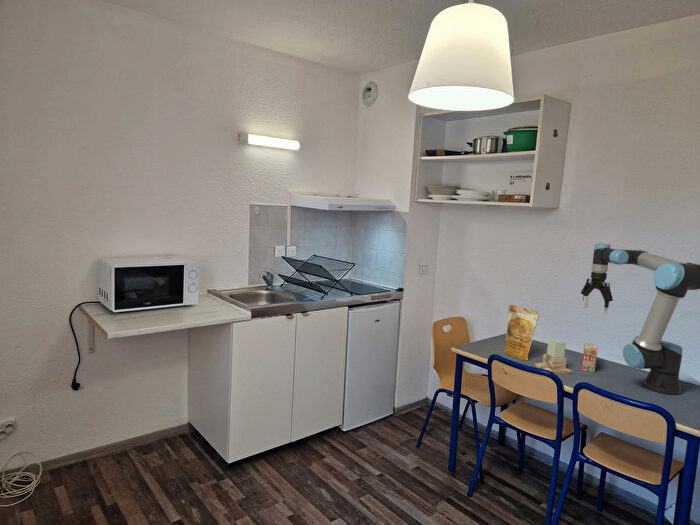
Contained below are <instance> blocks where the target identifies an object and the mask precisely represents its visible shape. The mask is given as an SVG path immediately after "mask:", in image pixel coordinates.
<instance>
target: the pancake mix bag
mask: <svg viewBox="0 0 700 525" xmlns="http://www.w3.org/2000/svg"><path fill="white" fill-rule="evenodd" d="M507 309H508V310H507V322H506V337H505V338H506V340H505V341H506V342H505V345H504V346H505V347H504V353H505V354H506V355H507V356H511V357H513V358H515V359H519V360H521V361H528V360H529V352H530V348H531V347H532V346H531V345H532V342H533V338H534V336H535V333H536V332H535V331H536V328H537V325H538V322H539V318H540V313H538V311H537V310H533V309H530V308H526V307H522V306H517V305H513V304H510V305H508V308H507Z"/></svg>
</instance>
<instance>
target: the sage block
mask: <svg viewBox="0 0 700 525" xmlns="http://www.w3.org/2000/svg"><path fill="white" fill-rule="evenodd" d="M566 346H567V344H566V342H565V341H563V340H561V339H558V338H556V339H554V338H553V339H551V338H550V339H548V341H547V348H546V349H547V350H546V354H547V355H549V356H551V357H553V358H564V357H565V352H566Z"/></svg>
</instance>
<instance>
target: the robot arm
mask: <svg viewBox="0 0 700 525" xmlns="http://www.w3.org/2000/svg"><path fill="white" fill-rule="evenodd" d="M609 264H614V265H620V266H621V265H633V266H638V267H641V268H645V269H648V270H651V271H654V274H653V282H654V283H653V284H654V285H655V288H654V289H655V290H656V291H657V293H656V295H655V298H654V300H653V302H652V305H651V307H650V309H649V312H648V315H647V316H646V319H645V321H644V324H643V326H642V329H641V331H640V332H639V335H636V336H635V337H634V338H633V340H632V342H631V343H628V344H626V345H624V347H623V349H622V354H623V358H624V361H625V363H626V364H627V366H629V367H630V368H632V369H635V370H637V369H638V370H647V369H648V370H649V369H650V370H649V372H648V373H647V375H646V378H645V379H644V382H643V385H644V387H645V388H647V389H649V390H651V391H653V392H657V393H660V394H665V395H673V396H675V395H681V393H682V386H681V383H680V371H681V364H682V358H683V347H682V346H681V345H679V344H676V343H673V342H670V341H666V340H662V339H663V336H664V335H665V332H666V329H667V328H668V325H669V322H670V321H671V319H672V316H673V315H674V312H675V309H676V307H677V305H678V303H679V300H681V299H684V298H685V297H686V294H687V292H688V291H698V290H700V264H697V263H692V262H686V263H684V262H681V261H676V260H673V259H670V258H667V257H664V256H659V255H656V254H652V253H649V252H648V251H646V250H642V249H636V250H635V249H618V248H611V244H609V243H598V242H597V243H596V244H594V249H593V256H592V265H591V273H590V274H591V275H590V278H587V279H586V282H585V284H584V285H583V287H582V289H581V291H580V294H581V295H583V296H582V297H583V298H582V301H583V303H582V308H583V309H584V308H585V309H587V308H589V301H590V300H589V299H590V294H591V293H592V292H593V291H594V290H595V289H596V290H598V291H599V292H600V294H601V296H602V298H603V301H602V307H601V314H608V308H609V306H610V302H612V301H614V299H613V295H612V290H611V283H610V282H606V280H607V278H608V277H607V275H608V274H607V272H608V266H609Z"/></svg>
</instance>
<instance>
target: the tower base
mask: <svg viewBox="0 0 700 525" xmlns="http://www.w3.org/2000/svg"><path fill="white" fill-rule="evenodd" d="M567 359H568V358H566V357H565V356H564V358H553V357H551V356H549V355H547V353H543V356H542V362H534V366H536V367H537V368H539V369H541V368H542V369H545V370H548V371H550V372H553V373H555V374H554V375H570V374H569V373H573V374H574V371H573V370H571V369H570V368H567V361H568V360H567ZM542 369H541V370H542Z"/></svg>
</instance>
